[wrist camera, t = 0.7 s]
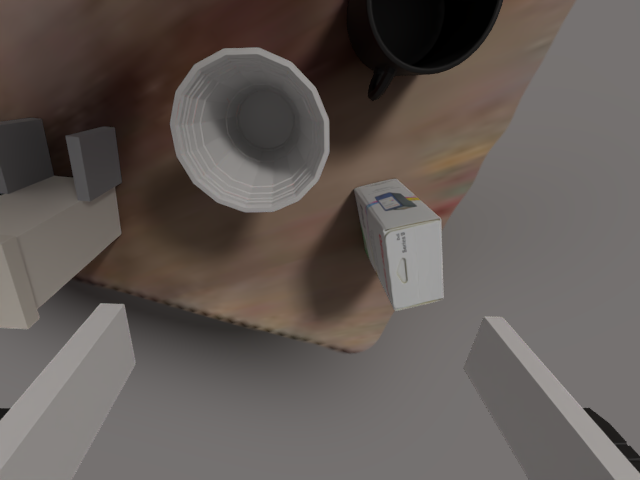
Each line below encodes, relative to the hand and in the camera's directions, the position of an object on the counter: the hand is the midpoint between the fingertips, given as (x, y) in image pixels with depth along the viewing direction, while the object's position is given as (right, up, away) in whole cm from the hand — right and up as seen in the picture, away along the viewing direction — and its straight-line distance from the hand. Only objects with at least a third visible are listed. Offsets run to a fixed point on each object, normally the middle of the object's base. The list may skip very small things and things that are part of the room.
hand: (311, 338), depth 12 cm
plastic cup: (-5, +16, +21) cm, 26 cm away
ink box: (+7, +7, +26) cm, 28 cm away
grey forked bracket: (-24, +10, +22) cm, 34 cm away
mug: (+7, +23, +18) cm, 30 cm away
